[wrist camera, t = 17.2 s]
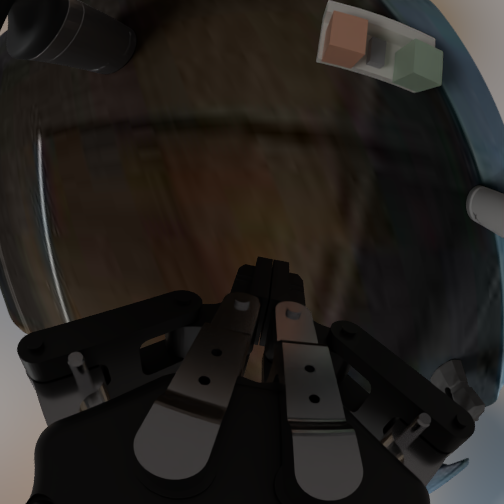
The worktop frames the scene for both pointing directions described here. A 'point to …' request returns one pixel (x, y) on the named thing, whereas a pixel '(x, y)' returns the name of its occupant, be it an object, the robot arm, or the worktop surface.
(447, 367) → the coffeepot
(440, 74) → the green rectangular block
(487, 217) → the travel mug
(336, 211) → the worktop surface
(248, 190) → the worktop surface
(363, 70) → the console
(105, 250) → the worktop surface
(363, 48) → the terracotta rectangular block
